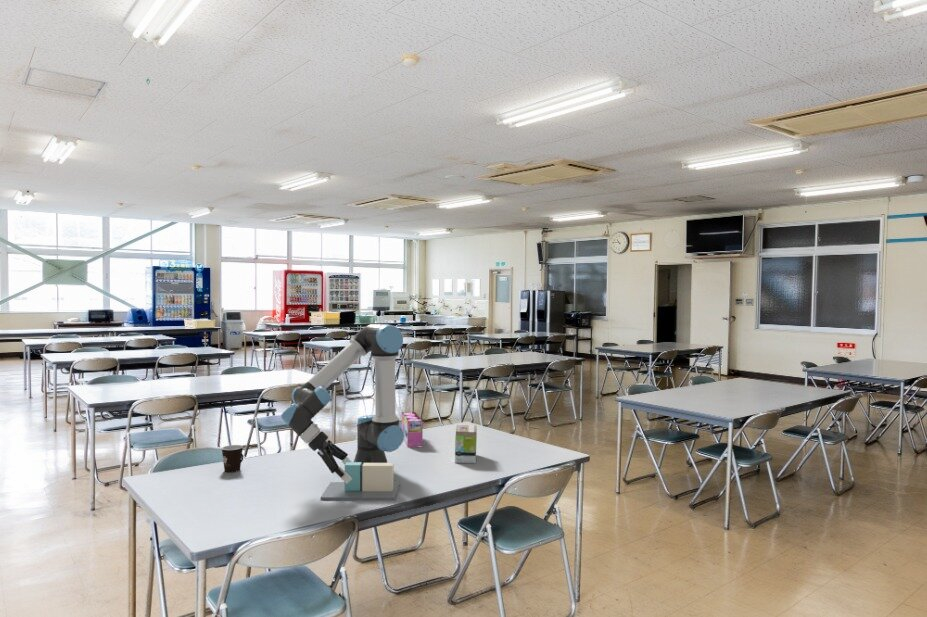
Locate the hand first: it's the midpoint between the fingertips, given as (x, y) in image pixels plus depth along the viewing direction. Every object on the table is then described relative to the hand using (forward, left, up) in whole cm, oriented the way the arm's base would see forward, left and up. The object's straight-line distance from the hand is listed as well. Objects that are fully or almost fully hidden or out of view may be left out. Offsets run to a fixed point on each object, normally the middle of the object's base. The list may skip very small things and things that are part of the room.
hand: (352, 475), depth 232 cm
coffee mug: (-59, -22, -7) cm, 63 cm away
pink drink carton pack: (-44, +68, -7) cm, 81 cm away
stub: (0, 0, -5) cm, 5 cm away
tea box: (-2, +65, -7) cm, 66 cm away
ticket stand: (+2, +2, -6) cm, 7 cm away
